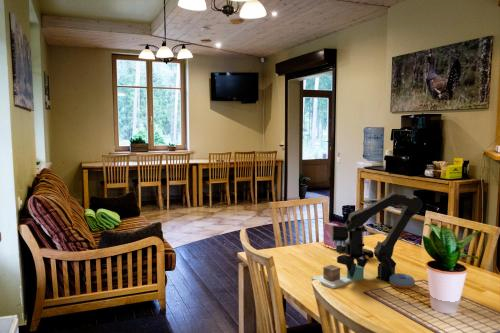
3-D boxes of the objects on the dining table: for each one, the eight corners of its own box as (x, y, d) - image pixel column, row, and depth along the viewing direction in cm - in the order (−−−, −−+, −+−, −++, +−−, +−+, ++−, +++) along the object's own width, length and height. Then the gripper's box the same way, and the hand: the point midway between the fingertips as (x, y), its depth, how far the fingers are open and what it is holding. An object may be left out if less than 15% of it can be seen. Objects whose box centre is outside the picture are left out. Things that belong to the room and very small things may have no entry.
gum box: (321, 246, 226) (321, 222, 225) (332, 243, 231) (332, 220, 229) (353, 256, 206) (353, 231, 205) (363, 254, 210) (364, 228, 209)
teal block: (363, 278, 176) (363, 267, 175) (356, 281, 172) (356, 269, 172) (354, 275, 179) (354, 264, 179) (347, 277, 176) (347, 266, 176)
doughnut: (391, 288, 163) (393, 277, 163) (386, 280, 173) (387, 270, 173) (417, 291, 162) (418, 280, 162) (410, 283, 172) (411, 273, 172)
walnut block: (340, 279, 172) (340, 267, 172) (332, 281, 169) (332, 270, 168) (331, 275, 176) (331, 264, 175) (323, 278, 173) (323, 267, 172)
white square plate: (351, 281, 171) (351, 279, 171) (333, 288, 164) (333, 286, 164) (330, 274, 181) (330, 271, 181) (311, 280, 174) (311, 278, 173)
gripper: (354, 234, 187) (353, 266, 188) (327, 240, 175) (327, 275, 177) (374, 238, 178) (374, 273, 179) (347, 246, 166) (347, 282, 168)
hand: (355, 275), depth 176 cm, fingers closed on teal block, 5 cm apart
